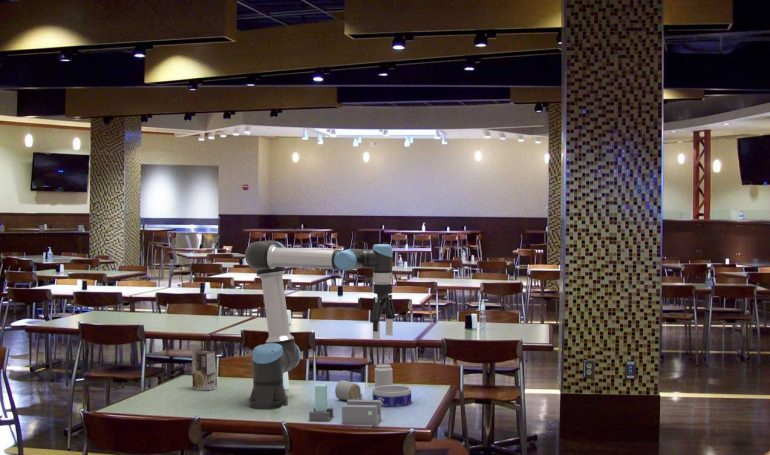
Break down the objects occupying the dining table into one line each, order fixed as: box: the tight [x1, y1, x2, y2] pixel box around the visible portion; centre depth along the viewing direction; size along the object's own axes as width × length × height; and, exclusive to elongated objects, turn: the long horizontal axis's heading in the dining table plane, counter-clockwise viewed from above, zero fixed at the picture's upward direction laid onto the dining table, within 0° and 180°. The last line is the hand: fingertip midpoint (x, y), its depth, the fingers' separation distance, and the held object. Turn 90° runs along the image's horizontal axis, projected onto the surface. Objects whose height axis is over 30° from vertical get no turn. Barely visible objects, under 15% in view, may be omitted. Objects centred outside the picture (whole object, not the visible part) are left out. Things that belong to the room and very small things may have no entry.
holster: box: [307, 407, 336, 423], centre depth 304 cm, size 8×9×4 cm
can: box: [374, 363, 394, 388], centre depth 352 cm, size 8×8×12 cm
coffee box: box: [191, 350, 218, 391], centre depth 367 cm, size 9×6×16 cm
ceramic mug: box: [334, 379, 363, 402], centre depth 341 cm, size 11×8×8 cm
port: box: [341, 399, 382, 428], centre depth 300 cm, size 12×12×7 cm
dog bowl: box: [372, 384, 412, 408], centre depth 333 cm, size 15×15×6 cm
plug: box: [314, 383, 328, 412], centre depth 304 cm, size 4×4×12 cm
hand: (382, 337), depth 332 cm, fingers open, 13 cm apart
